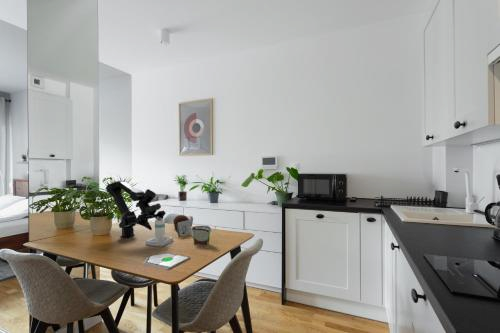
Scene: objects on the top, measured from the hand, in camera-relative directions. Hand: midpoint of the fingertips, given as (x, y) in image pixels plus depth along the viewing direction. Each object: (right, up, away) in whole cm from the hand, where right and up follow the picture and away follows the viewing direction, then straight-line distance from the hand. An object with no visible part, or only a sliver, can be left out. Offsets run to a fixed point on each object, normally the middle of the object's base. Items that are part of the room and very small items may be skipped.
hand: (157, 228), depth 150 cm
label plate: (+19, -9, +14) cm, 25 cm away
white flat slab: (+13, -9, -29) cm, 33 cm away
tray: (+2, -9, -1) cm, 9 cm away
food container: (+28, -9, -3) cm, 30 cm away
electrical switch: (+11, -9, +16) cm, 22 cm away
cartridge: (+2, -8, -1) cm, 8 cm away
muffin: (+5, -9, +32) cm, 34 cm away
